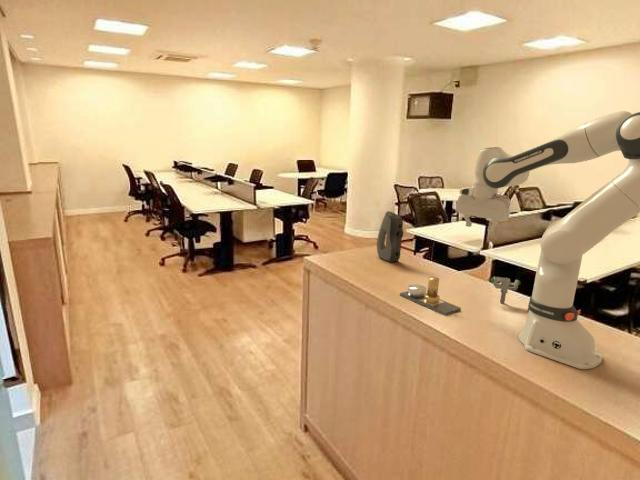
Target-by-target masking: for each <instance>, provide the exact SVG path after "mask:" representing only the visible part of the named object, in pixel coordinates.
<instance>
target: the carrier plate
mask: <svg viewBox="0 0 640 480" xmlns="http://www.w3.org/2000/svg"><path fill="white" fill-rule="evenodd" d="M426 293H427V287H426V286H424V285H421V284H417V283H416V284H409V285H408V286H407V291H402V292H400V293H399V296H400V297H403V298H405V299H407V300H409V301H412V302H414V303H416V304H419V305H420V306H423V307H425V308H427V309H430V310H432V311H434V312H436V313H439V314H441V315H443V316H447V315H451V314H454V313H457V312H460V311H461V310H462V307H460V306H457V305H455V304H453V303H450V302H448V301H446V300H443V299H440V298H439V303H436V304H432V303H428V302H425V301H424V295H425V294H426Z"/></svg>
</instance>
